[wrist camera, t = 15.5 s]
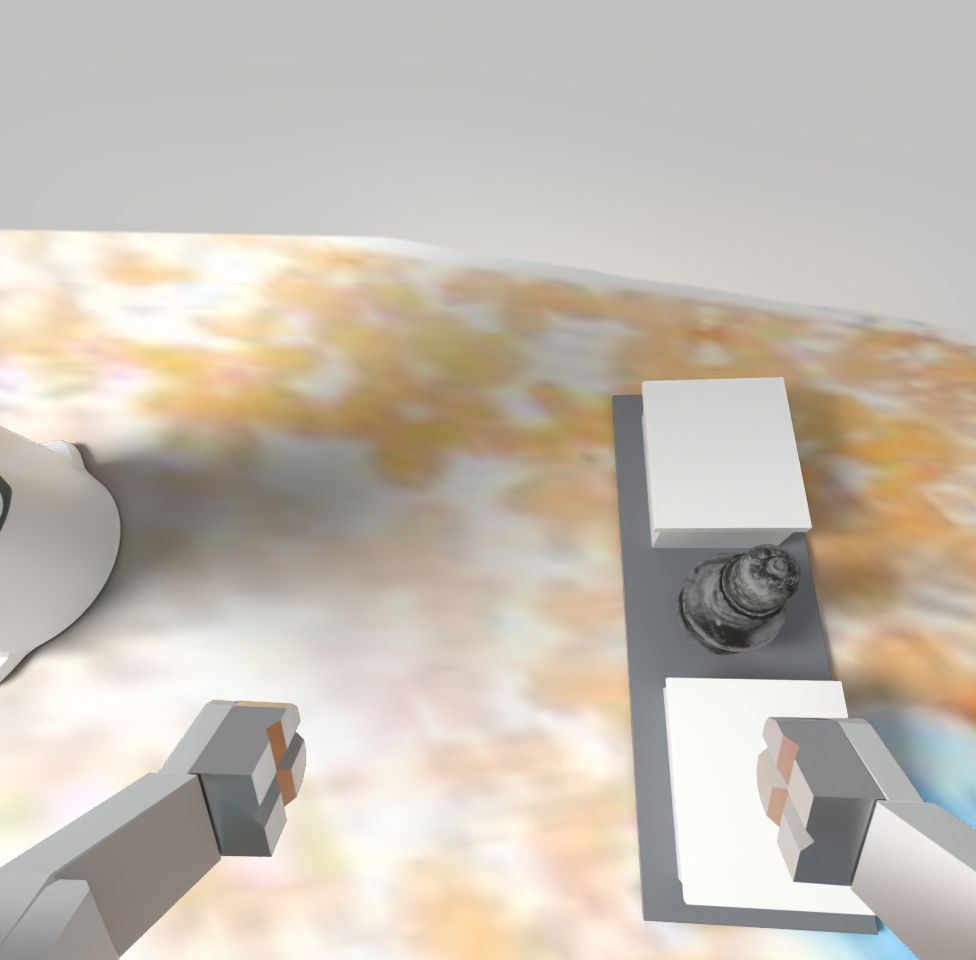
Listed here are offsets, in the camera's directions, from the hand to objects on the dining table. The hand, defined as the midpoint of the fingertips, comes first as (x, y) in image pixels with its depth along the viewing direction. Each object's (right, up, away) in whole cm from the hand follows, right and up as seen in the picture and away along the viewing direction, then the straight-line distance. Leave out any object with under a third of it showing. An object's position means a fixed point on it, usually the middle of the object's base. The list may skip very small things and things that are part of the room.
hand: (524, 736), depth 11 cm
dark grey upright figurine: (+14, -4, +28) cm, 32 cm away
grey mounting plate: (+14, -4, +29) cm, 32 cm away
